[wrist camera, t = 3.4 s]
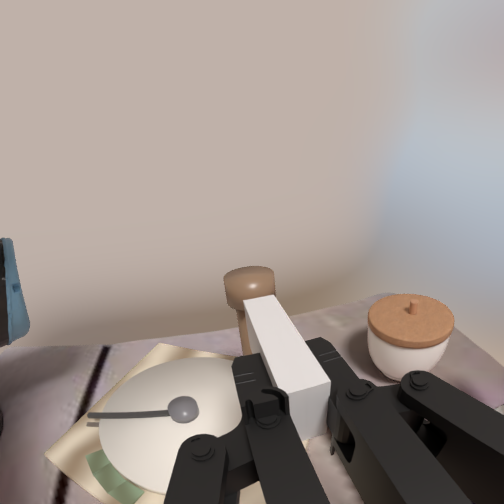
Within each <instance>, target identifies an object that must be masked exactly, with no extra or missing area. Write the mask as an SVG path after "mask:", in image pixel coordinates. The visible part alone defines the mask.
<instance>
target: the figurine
mask: <svg viewBox="0 0 504 504" xmlns="http://www.w3.org/2000/svg"><path fill="white" fill-rule="evenodd" d="M494 410H496V411H498V412H499V413H501V414H503V415H504V404H503V405H501V406H500V407H498V408H496V409H494Z"/></svg>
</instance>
